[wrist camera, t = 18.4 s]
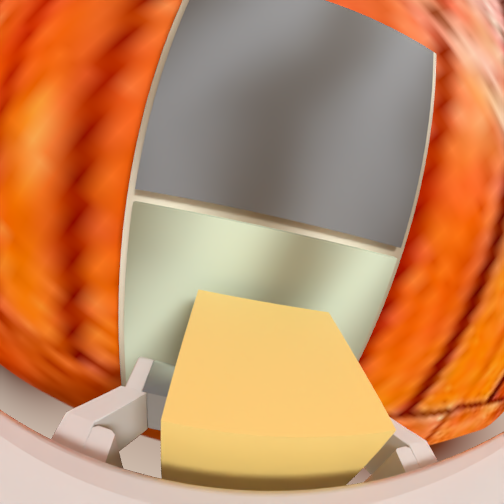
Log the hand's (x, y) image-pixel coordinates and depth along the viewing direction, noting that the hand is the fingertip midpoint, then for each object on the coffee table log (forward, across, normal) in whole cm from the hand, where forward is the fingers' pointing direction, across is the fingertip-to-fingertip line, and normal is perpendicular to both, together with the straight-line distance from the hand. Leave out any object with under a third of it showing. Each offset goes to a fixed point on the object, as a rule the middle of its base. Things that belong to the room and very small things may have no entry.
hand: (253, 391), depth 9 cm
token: (+2, 0, 0) cm, 2 cm away
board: (+4, 0, -5) cm, 7 cm away
